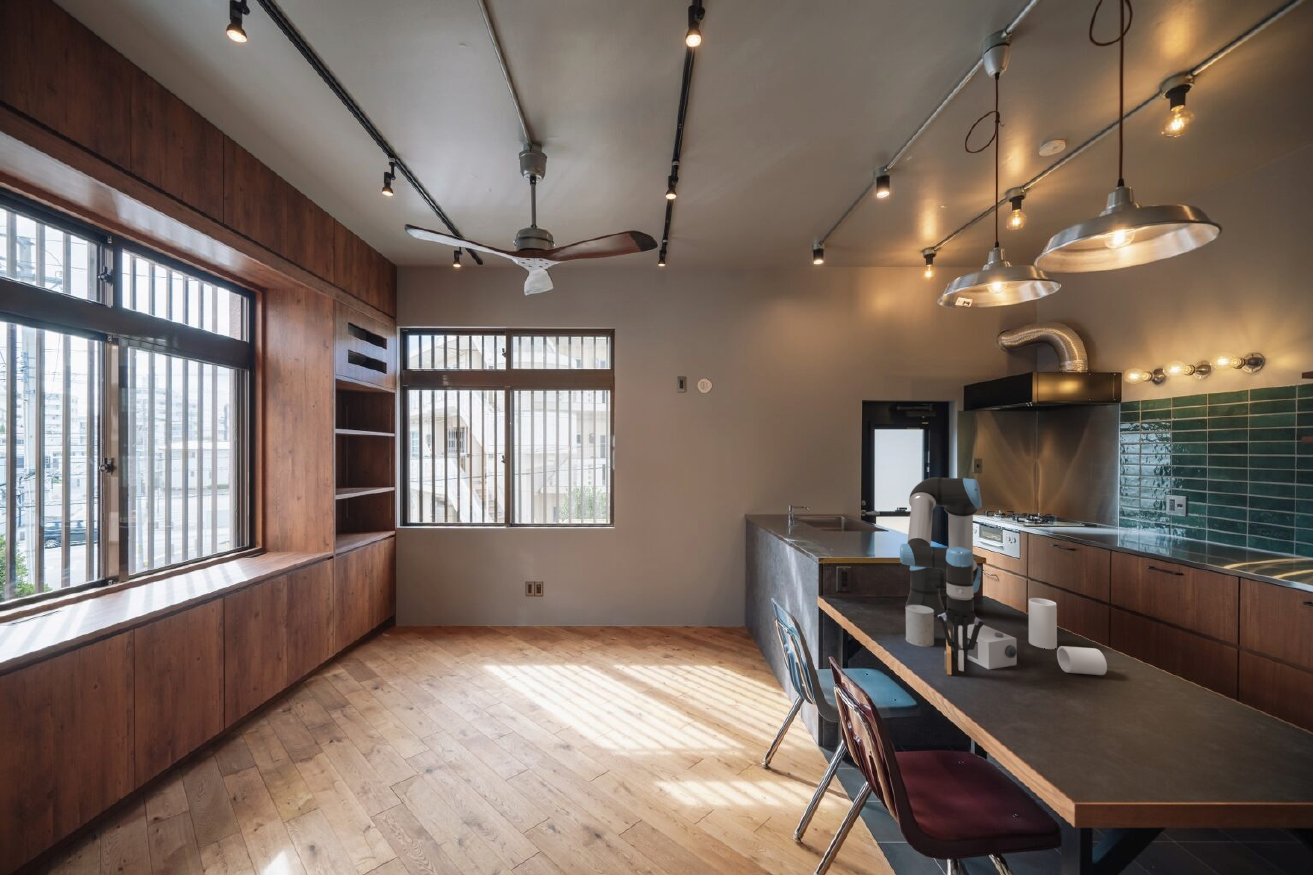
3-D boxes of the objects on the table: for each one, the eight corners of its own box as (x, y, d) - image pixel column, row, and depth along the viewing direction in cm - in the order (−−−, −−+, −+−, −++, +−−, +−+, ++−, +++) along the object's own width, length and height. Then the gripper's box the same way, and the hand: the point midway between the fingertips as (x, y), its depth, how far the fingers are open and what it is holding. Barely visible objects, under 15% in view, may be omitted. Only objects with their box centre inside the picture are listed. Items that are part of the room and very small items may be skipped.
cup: (1057, 651, 178) (1057, 606, 178) (1028, 645, 182) (1028, 602, 182) (1056, 643, 184) (1056, 600, 184) (1028, 638, 189) (1028, 596, 189)
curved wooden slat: (944, 648, 179) (944, 628, 179) (950, 650, 178) (950, 629, 178) (944, 673, 161) (944, 651, 161) (951, 675, 160) (951, 652, 160)
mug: (1107, 679, 157) (1107, 654, 157) (1071, 676, 159) (1071, 652, 159) (1083, 662, 168) (1082, 639, 168) (1049, 660, 170) (1049, 637, 170)
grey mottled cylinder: (927, 636, 191) (927, 604, 191) (938, 647, 182) (938, 613, 182) (901, 635, 192) (901, 604, 192) (911, 646, 182) (911, 612, 182)
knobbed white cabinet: (953, 651, 177) (953, 624, 177) (979, 647, 181) (979, 621, 181) (991, 670, 163) (991, 640, 163) (1019, 665, 166) (1019, 636, 166)
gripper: (938, 597, 160) (938, 669, 160) (985, 602, 155) (986, 677, 155) (936, 590, 167) (937, 660, 167) (981, 595, 161) (982, 667, 161)
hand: (960, 668), depth 161 cm, fingers closed
